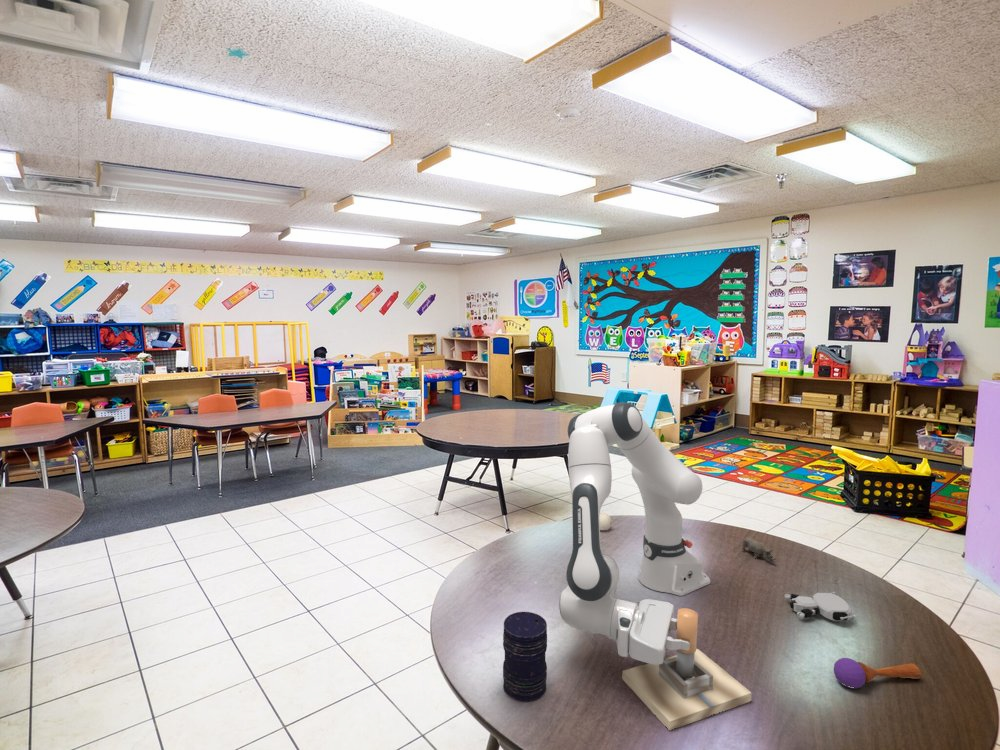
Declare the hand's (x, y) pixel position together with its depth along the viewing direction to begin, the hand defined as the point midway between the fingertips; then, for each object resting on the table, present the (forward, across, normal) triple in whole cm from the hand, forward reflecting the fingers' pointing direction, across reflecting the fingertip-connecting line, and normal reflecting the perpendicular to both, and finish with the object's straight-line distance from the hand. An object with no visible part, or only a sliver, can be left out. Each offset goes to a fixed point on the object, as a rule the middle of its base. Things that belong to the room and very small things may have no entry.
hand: (691, 638), depth 111 cm
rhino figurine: (+16, -80, -12) cm, 82 cm away
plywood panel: (-1, 0, -12) cm, 13 cm away
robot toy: (+30, -48, -13) cm, 58 cm away
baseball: (-40, -80, -13) cm, 90 cm away
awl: (-1, 0, -8) cm, 8 cm away
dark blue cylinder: (-34, +14, -13) cm, 39 cm away
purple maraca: (+39, -22, -13) cm, 46 cm away
